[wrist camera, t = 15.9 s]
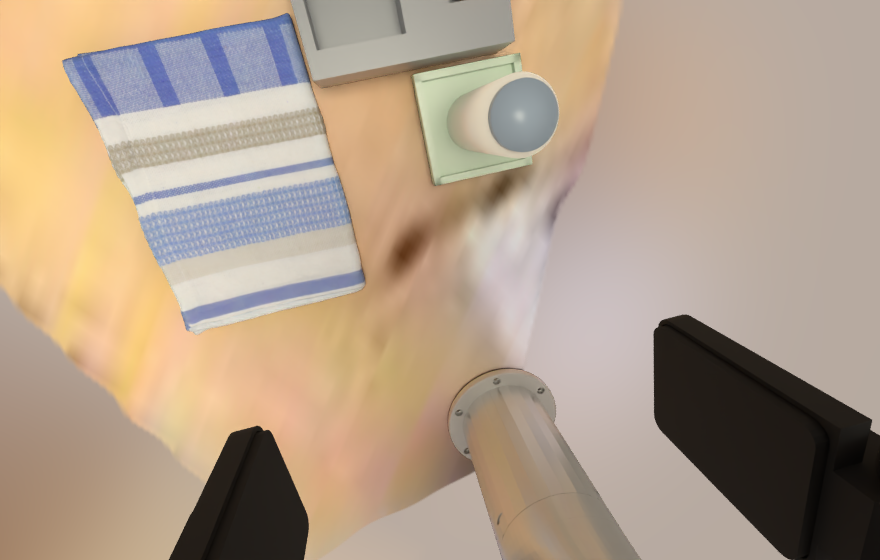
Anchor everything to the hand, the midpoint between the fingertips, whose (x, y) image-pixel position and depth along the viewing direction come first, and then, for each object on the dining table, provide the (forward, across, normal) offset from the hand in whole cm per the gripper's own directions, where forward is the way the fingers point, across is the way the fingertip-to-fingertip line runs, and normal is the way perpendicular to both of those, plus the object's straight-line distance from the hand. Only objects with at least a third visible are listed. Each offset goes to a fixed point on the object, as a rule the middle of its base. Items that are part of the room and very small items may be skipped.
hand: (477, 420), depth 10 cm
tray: (+30, -8, -6) cm, 32 cm away
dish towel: (+31, +13, -5) cm, 34 cm away
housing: (+30, -4, -16) cm, 34 cm away
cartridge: (+29, -8, -6) cm, 31 cm away
